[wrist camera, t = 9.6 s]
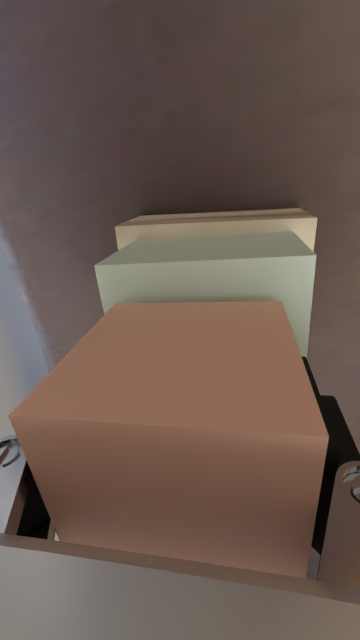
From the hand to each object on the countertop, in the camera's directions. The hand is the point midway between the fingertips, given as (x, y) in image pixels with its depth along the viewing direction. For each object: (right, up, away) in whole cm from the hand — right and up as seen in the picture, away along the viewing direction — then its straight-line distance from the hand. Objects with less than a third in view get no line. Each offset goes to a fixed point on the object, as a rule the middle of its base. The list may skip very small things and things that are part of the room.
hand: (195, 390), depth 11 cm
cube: (0, 0, +1) cm, 1 cm away
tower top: (+1, +3, +6) cm, 7 cm away
